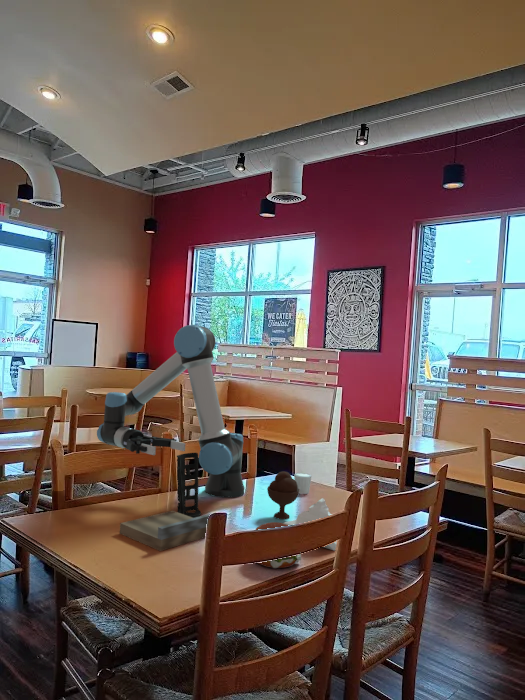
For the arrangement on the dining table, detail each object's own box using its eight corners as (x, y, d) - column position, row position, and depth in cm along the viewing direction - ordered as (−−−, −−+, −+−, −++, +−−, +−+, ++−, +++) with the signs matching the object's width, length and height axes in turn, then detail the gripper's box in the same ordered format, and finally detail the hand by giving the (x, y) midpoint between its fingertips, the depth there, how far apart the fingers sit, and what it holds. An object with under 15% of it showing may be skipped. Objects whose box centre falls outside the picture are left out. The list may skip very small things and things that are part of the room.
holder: (194, 521, 175) (192, 457, 176) (171, 520, 177) (170, 457, 177) (204, 511, 186) (203, 452, 187) (183, 511, 187) (181, 452, 188)
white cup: (311, 495, 218) (312, 477, 218) (293, 493, 219) (294, 476, 219) (309, 490, 225) (310, 473, 225) (292, 489, 225) (294, 472, 225)
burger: (250, 550, 154) (253, 514, 154) (299, 554, 153) (302, 518, 153) (247, 569, 140) (250, 530, 140) (301, 574, 140) (304, 534, 140)
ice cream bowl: (258, 515, 186) (261, 471, 186) (280, 510, 195) (283, 467, 195) (282, 524, 179) (285, 477, 179) (304, 517, 187) (307, 473, 187)
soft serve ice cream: (300, 537, 172) (312, 492, 174) (343, 554, 163) (355, 506, 165) (279, 537, 162) (293, 488, 164) (324, 555, 153) (337, 504, 155)
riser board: (172, 520, 176) (173, 501, 176) (212, 535, 164) (214, 514, 164) (119, 533, 160) (120, 512, 160) (160, 551, 149) (161, 528, 149)
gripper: (155, 446, 211) (195, 456, 198) (99, 452, 191) (140, 464, 178) (156, 426, 211) (196, 435, 198) (101, 430, 191) (142, 441, 178)
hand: (170, 449), depth 188 cm, fingers open, 13 cm apart
